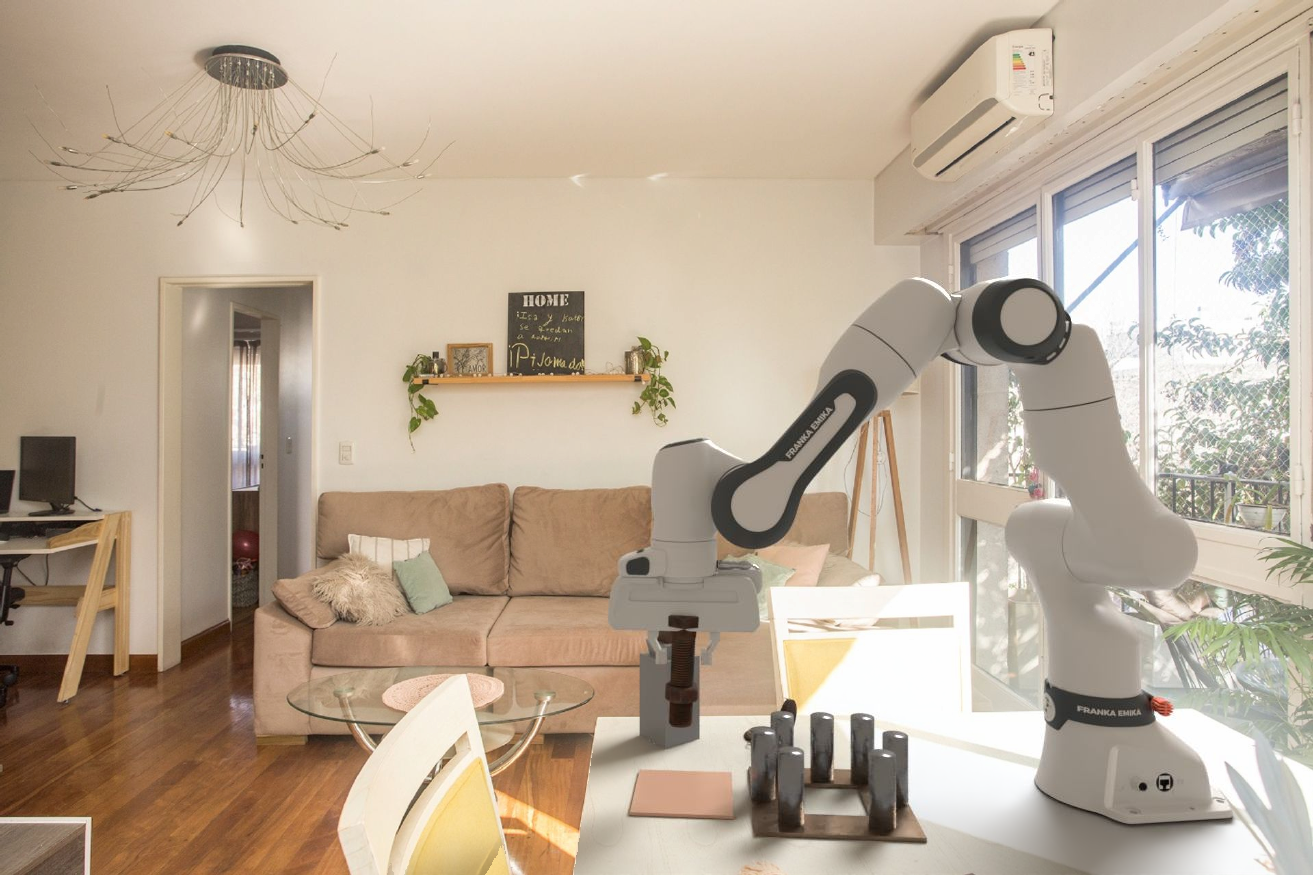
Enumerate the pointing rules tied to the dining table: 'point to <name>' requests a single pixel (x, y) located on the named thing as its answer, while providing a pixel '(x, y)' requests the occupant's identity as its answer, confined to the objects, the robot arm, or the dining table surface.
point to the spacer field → (830, 781)
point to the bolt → (682, 671)
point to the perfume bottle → (663, 699)
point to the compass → (787, 706)
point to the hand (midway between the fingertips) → (683, 663)
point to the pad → (683, 794)
